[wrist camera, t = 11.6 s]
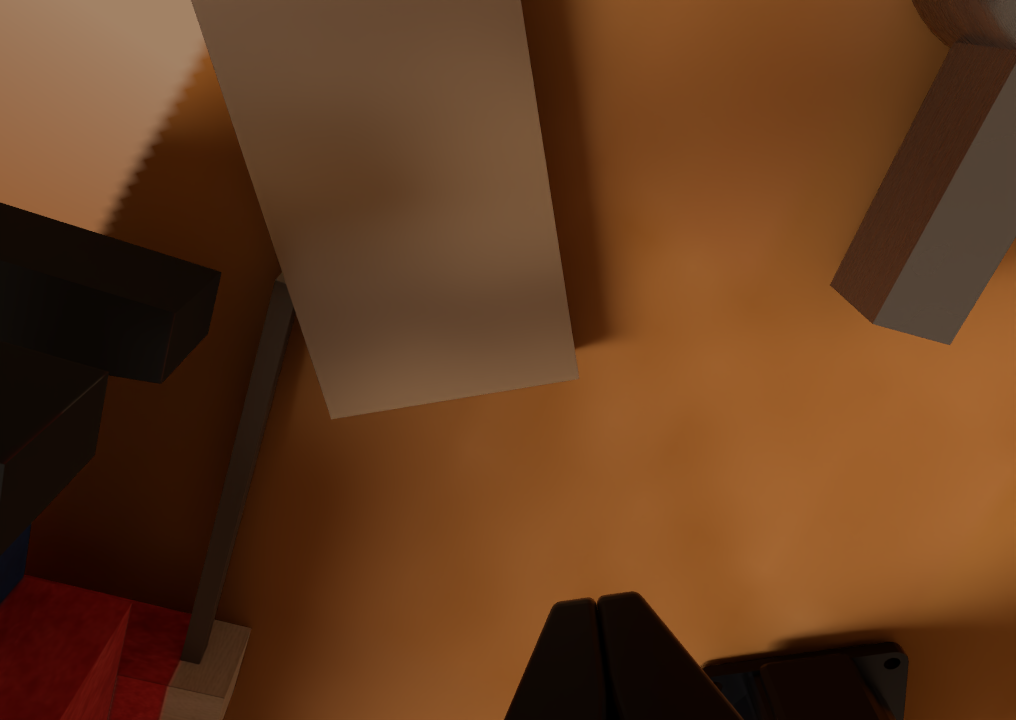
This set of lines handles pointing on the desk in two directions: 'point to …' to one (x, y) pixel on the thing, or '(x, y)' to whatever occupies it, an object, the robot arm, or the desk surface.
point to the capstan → (944, 184)
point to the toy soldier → (70, 446)
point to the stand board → (400, 191)
